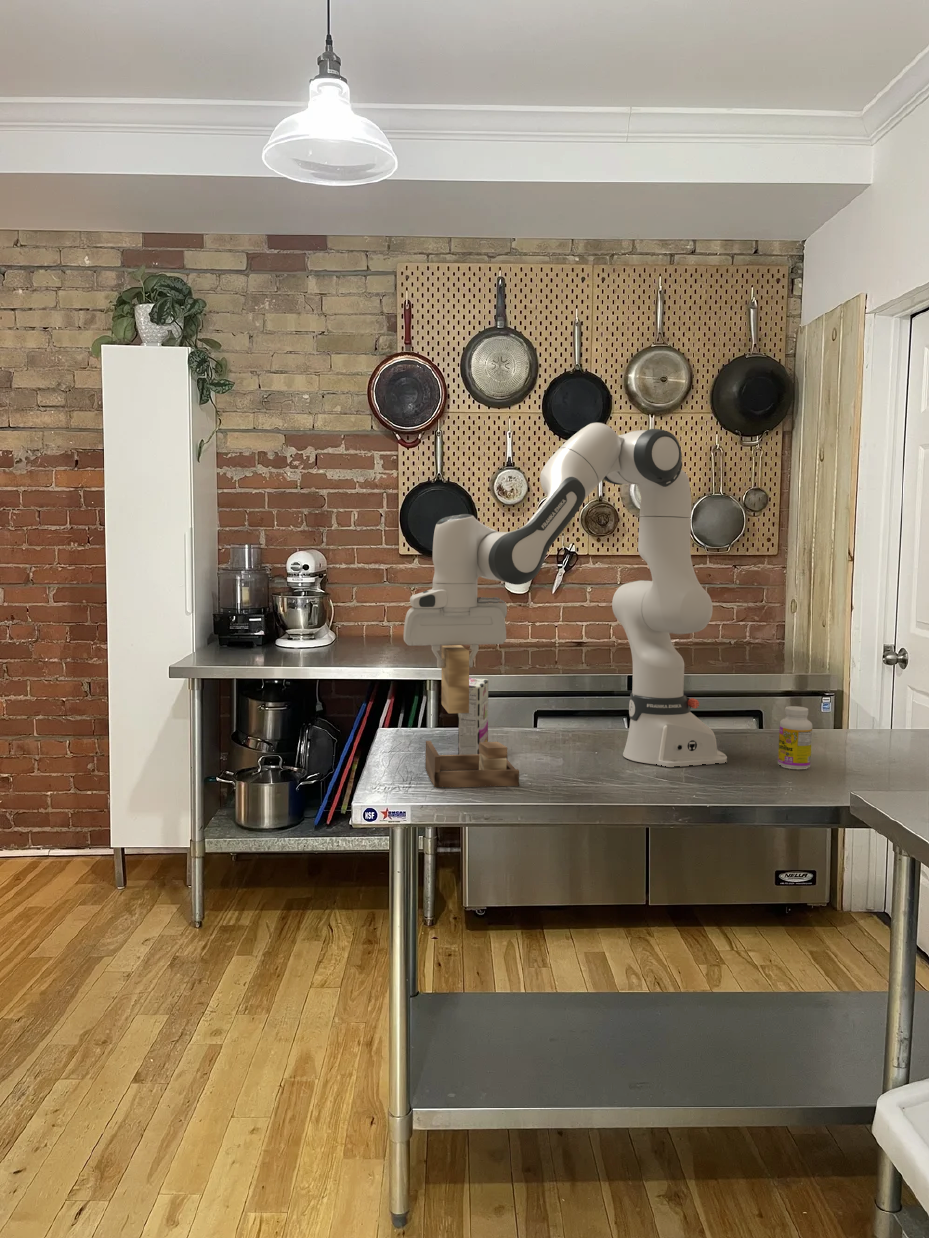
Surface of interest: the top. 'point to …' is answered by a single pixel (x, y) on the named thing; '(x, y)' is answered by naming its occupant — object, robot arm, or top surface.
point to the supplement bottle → (795, 738)
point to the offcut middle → (492, 763)
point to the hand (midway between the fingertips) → (454, 667)
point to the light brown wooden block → (455, 679)
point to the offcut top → (493, 749)
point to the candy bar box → (474, 718)
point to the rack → (465, 771)
